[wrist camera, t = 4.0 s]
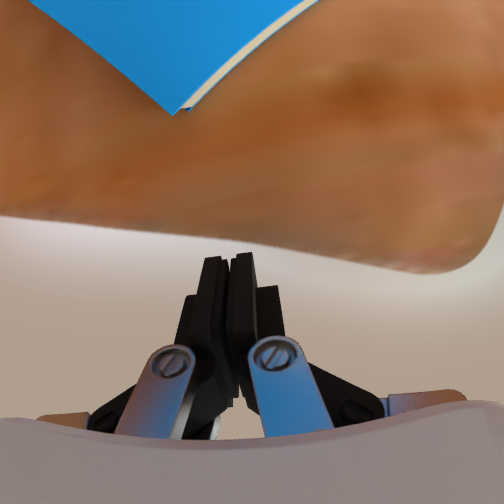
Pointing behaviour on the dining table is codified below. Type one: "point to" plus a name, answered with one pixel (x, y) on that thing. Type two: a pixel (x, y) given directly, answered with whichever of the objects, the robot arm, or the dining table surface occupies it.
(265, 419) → the robot arm
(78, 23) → the book
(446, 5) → the dining table surface
